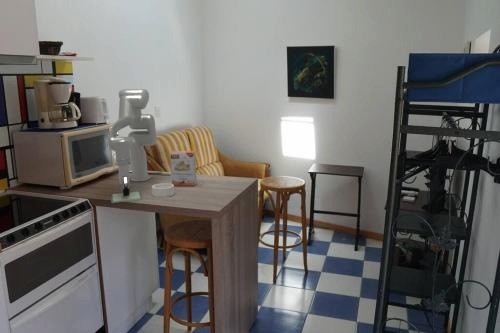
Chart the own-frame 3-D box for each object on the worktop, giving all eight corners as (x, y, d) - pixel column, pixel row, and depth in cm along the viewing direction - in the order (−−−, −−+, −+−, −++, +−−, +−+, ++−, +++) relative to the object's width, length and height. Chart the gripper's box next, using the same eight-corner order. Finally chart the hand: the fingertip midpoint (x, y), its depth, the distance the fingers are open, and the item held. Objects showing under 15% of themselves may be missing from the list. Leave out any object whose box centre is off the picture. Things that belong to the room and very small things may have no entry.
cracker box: (171, 186, 251) (169, 152, 247) (174, 183, 257) (172, 150, 252) (194, 186, 250) (192, 152, 245) (196, 184, 255) (195, 150, 251)
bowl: (151, 192, 237) (150, 184, 236) (172, 190, 241) (171, 182, 240) (153, 198, 226) (153, 189, 225) (175, 196, 230) (175, 187, 229)
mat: (110, 196, 231) (110, 196, 231) (140, 193, 236) (140, 193, 236) (111, 203, 218) (111, 203, 218) (142, 200, 223) (142, 199, 223)
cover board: (112, 195, 231) (111, 183, 230) (138, 193, 236) (137, 181, 234) (113, 202, 218) (112, 189, 217) (140, 199, 223) (139, 187, 221)
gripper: (115, 159, 230) (118, 190, 233) (116, 165, 214) (119, 198, 217) (129, 158, 232) (132, 189, 236) (131, 164, 216) (134, 197, 220)
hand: (126, 193), depth 227 cm, fingers open, 7 cm apart
